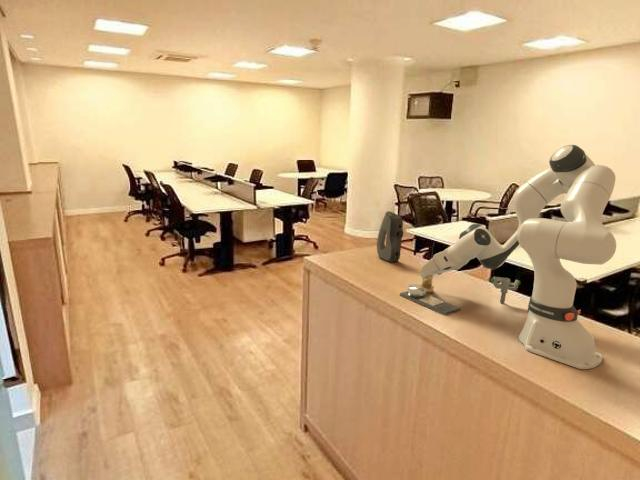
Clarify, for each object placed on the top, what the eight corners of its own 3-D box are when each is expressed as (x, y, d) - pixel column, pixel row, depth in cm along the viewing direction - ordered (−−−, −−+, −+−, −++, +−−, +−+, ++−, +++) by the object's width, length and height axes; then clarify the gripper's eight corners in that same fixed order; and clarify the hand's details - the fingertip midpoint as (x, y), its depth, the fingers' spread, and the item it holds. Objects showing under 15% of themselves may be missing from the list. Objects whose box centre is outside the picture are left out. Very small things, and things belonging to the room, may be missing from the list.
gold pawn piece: (436, 292, 170) (438, 271, 168) (427, 294, 167) (429, 273, 165) (425, 287, 174) (427, 267, 172) (416, 290, 171) (418, 269, 169)
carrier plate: (460, 310, 152) (461, 300, 151) (445, 315, 147) (446, 305, 146) (415, 291, 169) (416, 282, 169) (399, 295, 164) (400, 285, 163)
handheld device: (392, 264, 206) (397, 214, 200) (371, 256, 218) (375, 209, 212) (401, 262, 209) (405, 214, 203) (380, 254, 221) (383, 209, 215)
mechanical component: (516, 306, 159) (521, 281, 156) (489, 302, 161) (492, 278, 158) (515, 303, 162) (519, 279, 159) (487, 300, 164) (491, 276, 161)
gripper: (465, 248, 165) (443, 264, 175) (432, 254, 154) (410, 272, 164) (474, 261, 163) (450, 277, 173) (440, 269, 151) (417, 286, 161)
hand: (430, 275), depth 168 cm, fingers open, 8 cm apart
